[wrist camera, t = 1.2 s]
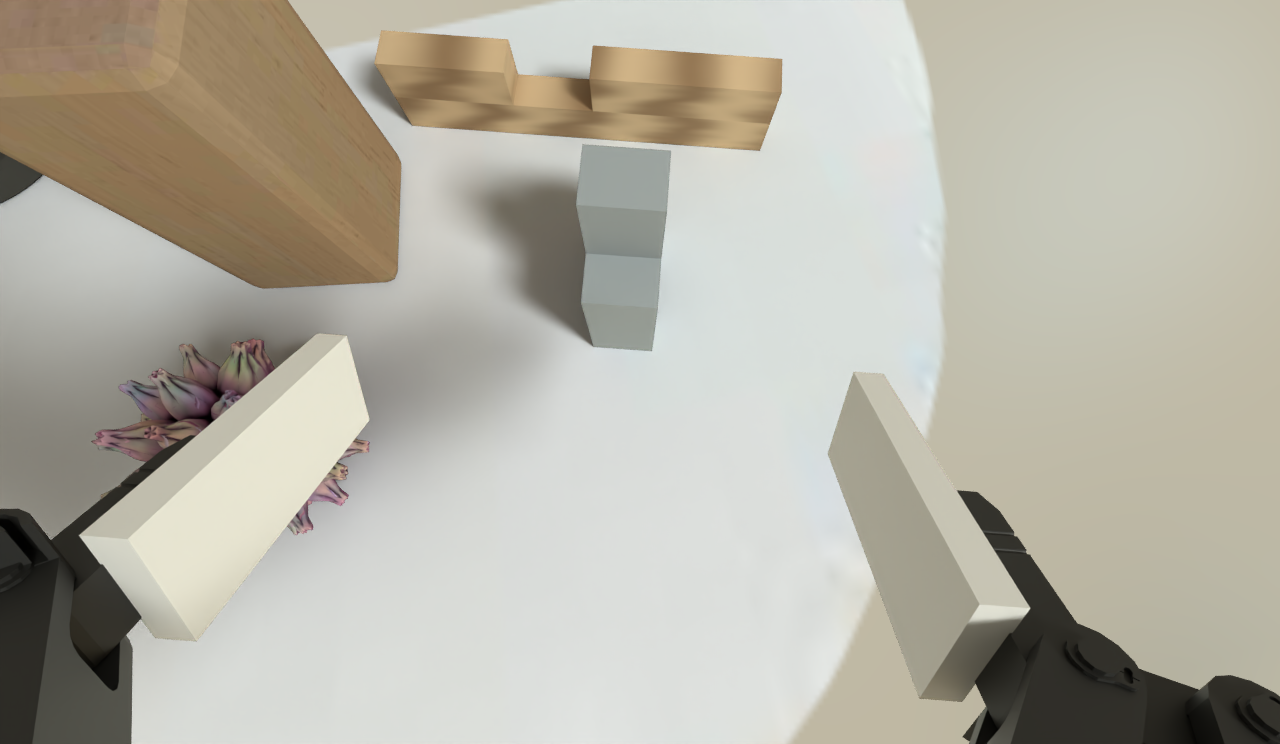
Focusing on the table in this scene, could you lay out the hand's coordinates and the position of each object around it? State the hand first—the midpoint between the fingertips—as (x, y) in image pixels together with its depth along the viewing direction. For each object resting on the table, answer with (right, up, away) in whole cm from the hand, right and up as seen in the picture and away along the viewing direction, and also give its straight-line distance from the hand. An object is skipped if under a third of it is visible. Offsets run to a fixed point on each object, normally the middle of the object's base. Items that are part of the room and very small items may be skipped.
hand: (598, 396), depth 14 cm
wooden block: (-21, +11, +24) cm, 34 cm away
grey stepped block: (0, +6, +23) cm, 24 cm away
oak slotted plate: (-3, +19, +26) cm, 32 cm away
